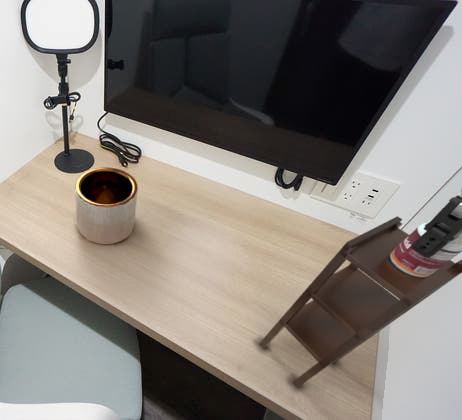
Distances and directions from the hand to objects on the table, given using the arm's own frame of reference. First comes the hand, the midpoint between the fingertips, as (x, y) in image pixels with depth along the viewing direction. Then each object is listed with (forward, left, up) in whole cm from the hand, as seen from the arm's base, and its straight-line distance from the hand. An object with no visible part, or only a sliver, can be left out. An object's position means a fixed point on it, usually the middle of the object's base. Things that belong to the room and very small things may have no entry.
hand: (432, 244), depth 42 cm
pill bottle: (0, 0, -5) cm, 5 cm away
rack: (+1, 0, -38) cm, 38 cm away
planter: (+54, +20, -39) cm, 69 cm away
